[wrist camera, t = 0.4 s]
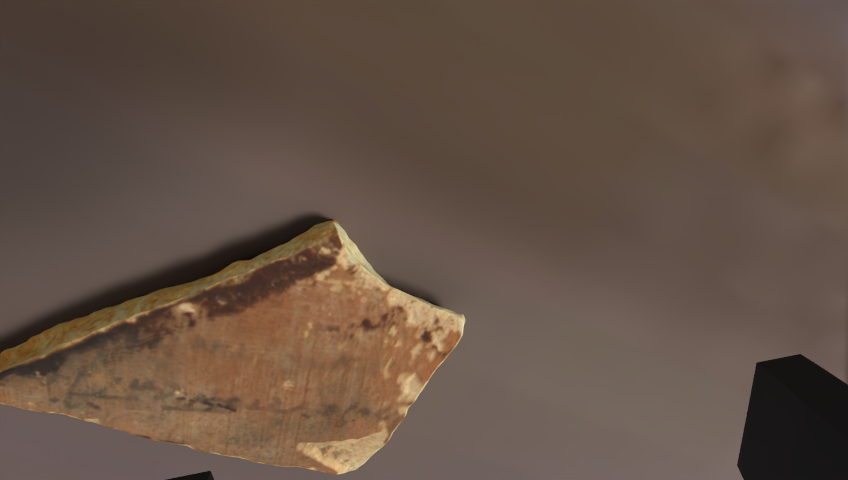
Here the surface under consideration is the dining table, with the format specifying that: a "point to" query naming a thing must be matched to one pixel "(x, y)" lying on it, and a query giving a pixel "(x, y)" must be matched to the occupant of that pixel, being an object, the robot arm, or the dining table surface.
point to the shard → (248, 359)
